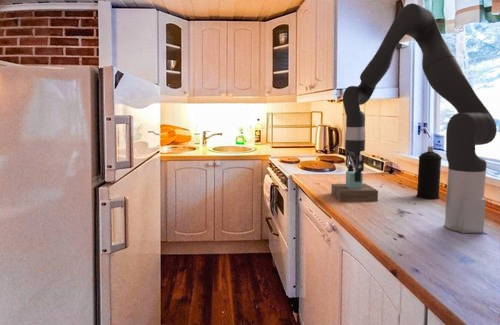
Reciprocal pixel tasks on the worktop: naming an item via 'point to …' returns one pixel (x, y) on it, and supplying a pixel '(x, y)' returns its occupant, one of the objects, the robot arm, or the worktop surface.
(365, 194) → the stacking base
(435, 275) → the worktop surface
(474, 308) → the worktop surface
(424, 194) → the aerosol can
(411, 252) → the worktop surface
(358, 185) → the teal block
